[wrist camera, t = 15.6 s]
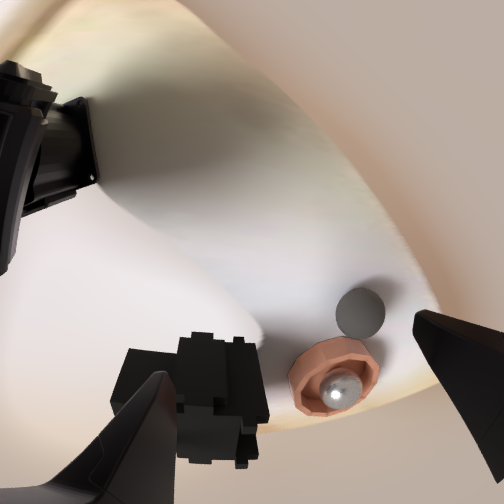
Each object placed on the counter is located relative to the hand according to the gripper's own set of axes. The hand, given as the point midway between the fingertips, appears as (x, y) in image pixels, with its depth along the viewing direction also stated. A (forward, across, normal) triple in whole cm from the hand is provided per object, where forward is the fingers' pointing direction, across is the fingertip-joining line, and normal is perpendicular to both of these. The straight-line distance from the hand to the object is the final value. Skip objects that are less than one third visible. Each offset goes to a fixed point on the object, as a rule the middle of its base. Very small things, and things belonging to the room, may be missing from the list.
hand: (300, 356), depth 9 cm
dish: (+12, -5, +14) cm, 19 cm away
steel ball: (+9, -5, +14) cm, 18 cm away
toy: (+5, +2, +11) cm, 12 cm away
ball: (+10, -7, +6) cm, 14 cm away
